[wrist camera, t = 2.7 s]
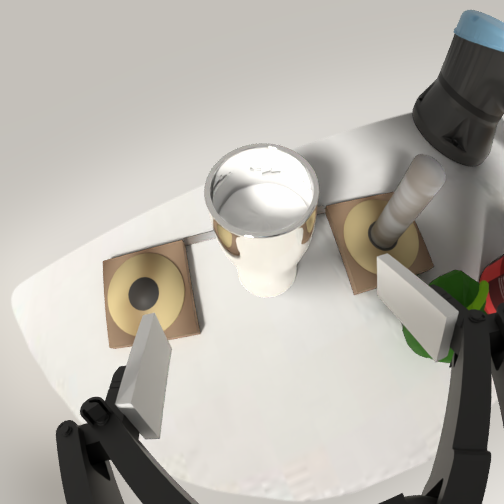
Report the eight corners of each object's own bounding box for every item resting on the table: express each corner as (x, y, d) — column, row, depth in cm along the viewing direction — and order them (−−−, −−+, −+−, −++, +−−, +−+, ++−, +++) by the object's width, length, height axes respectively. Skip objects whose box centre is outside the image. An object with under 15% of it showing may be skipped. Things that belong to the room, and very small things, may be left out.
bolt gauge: (394, 191, 32) (436, 117, 20) (429, 270, 28) (497, 216, 16) (107, 259, 32) (39, 206, 19) (115, 348, 28) (30, 330, 15)
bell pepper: (417, 381, 24) (473, 383, 15) (378, 321, 27) (423, 300, 18) (464, 332, 25) (521, 315, 16) (429, 277, 28) (478, 241, 19)
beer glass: (227, 246, 31) (194, 154, 17) (290, 232, 31) (301, 132, 17) (240, 309, 29) (210, 255, 15) (308, 293, 29) (340, 225, 15)
